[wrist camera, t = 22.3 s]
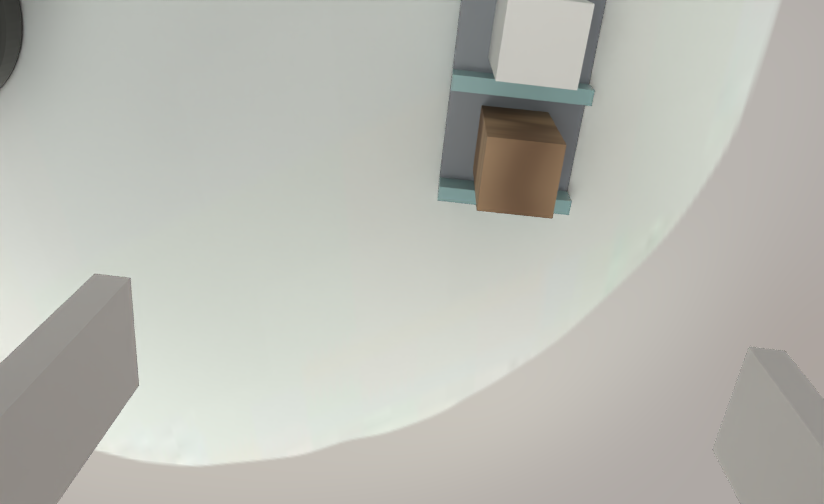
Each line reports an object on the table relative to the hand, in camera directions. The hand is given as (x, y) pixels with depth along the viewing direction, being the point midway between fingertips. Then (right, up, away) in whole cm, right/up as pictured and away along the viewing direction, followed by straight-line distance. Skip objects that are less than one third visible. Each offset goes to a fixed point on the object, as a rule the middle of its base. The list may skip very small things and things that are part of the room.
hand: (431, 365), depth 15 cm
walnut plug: (+6, +10, +33) cm, 35 cm away
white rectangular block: (+7, +17, +29) cm, 35 cm away
